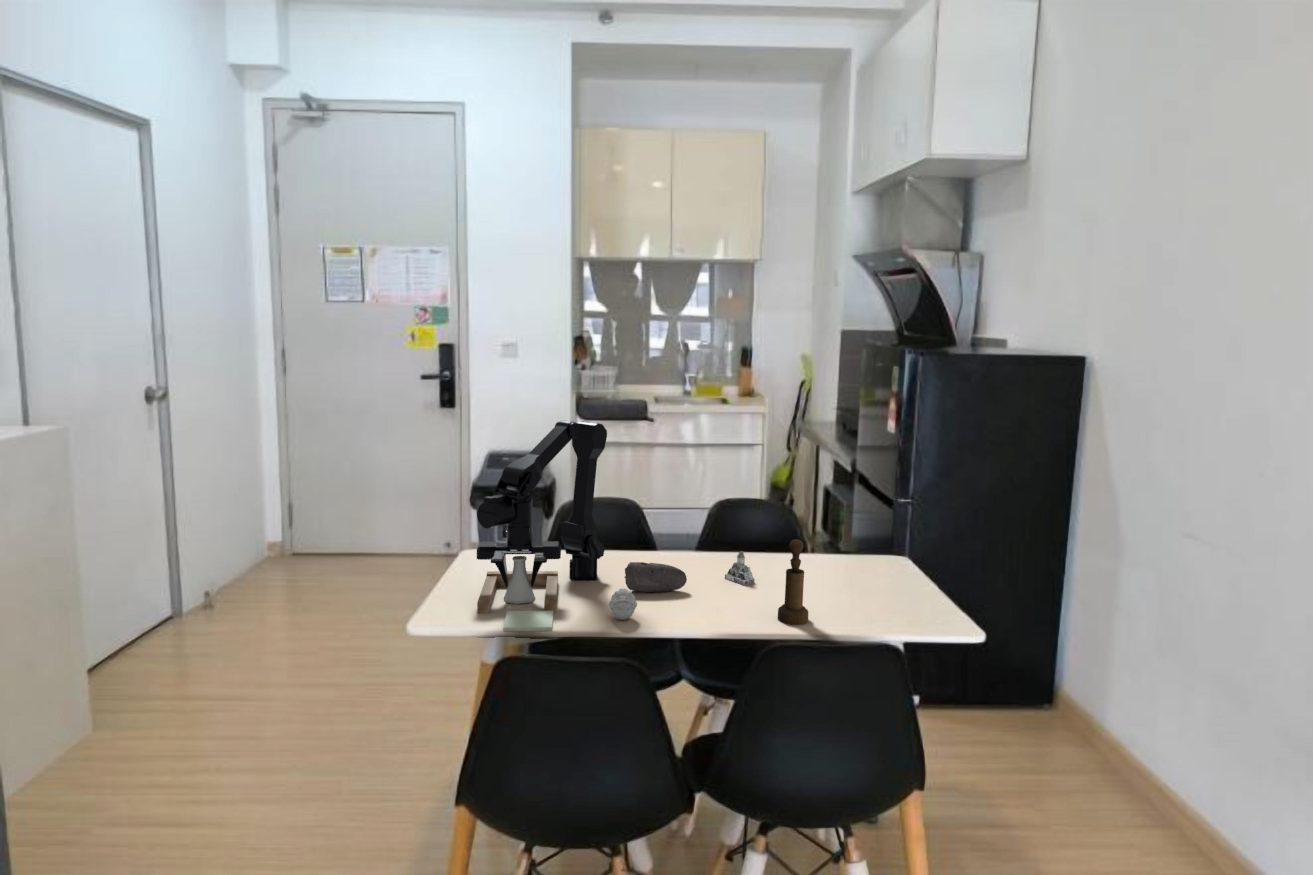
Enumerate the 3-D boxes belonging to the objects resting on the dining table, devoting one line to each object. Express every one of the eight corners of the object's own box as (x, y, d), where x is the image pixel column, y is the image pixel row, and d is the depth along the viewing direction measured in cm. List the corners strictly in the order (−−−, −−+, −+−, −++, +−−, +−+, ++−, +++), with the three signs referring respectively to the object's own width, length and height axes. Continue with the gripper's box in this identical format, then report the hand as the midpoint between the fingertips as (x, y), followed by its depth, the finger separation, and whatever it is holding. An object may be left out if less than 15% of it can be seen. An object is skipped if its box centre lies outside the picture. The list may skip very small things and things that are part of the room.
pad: (553, 614, 185) (553, 610, 185) (551, 630, 175) (552, 627, 175) (507, 614, 184) (507, 610, 184) (503, 631, 174) (503, 627, 174)
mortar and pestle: (810, 617, 187) (814, 538, 184) (805, 626, 181) (809, 545, 178) (780, 613, 189) (784, 534, 186) (774, 622, 183) (778, 541, 180)
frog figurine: (608, 625, 179) (609, 593, 178) (608, 613, 186) (609, 583, 185) (637, 625, 179) (637, 593, 178) (636, 613, 186) (636, 583, 185)
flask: (505, 594, 197) (504, 553, 196) (536, 594, 198) (536, 553, 196) (502, 605, 190) (502, 562, 189) (534, 604, 191) (534, 561, 189)
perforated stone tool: (685, 587, 205) (686, 560, 204) (687, 594, 200) (688, 566, 199) (624, 587, 205) (624, 559, 204) (624, 594, 200) (624, 565, 199)
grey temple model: (773, 582, 212) (774, 552, 211) (748, 588, 207) (749, 557, 206) (748, 573, 220) (749, 544, 218) (723, 578, 214) (724, 549, 213)
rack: (557, 582, 207) (558, 571, 206) (555, 612, 186) (555, 599, 186) (487, 583, 205) (487, 571, 205) (477, 613, 184) (477, 599, 184)
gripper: (561, 512, 200) (561, 575, 202) (481, 512, 198) (482, 576, 201) (560, 523, 189) (560, 590, 191) (476, 523, 187) (476, 591, 190)
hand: (519, 586), depth 194 cm, fingers open, 5 cm apart
